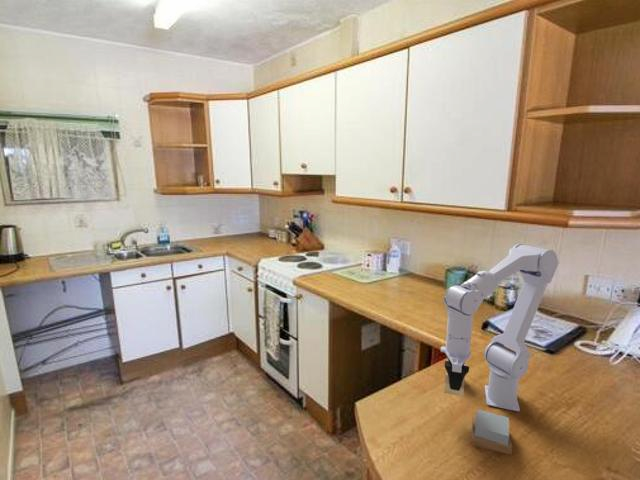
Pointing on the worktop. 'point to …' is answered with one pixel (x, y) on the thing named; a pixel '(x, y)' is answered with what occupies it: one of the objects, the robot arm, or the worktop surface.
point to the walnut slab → (490, 442)
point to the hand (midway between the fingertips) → (455, 383)
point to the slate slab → (492, 427)
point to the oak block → (450, 391)
